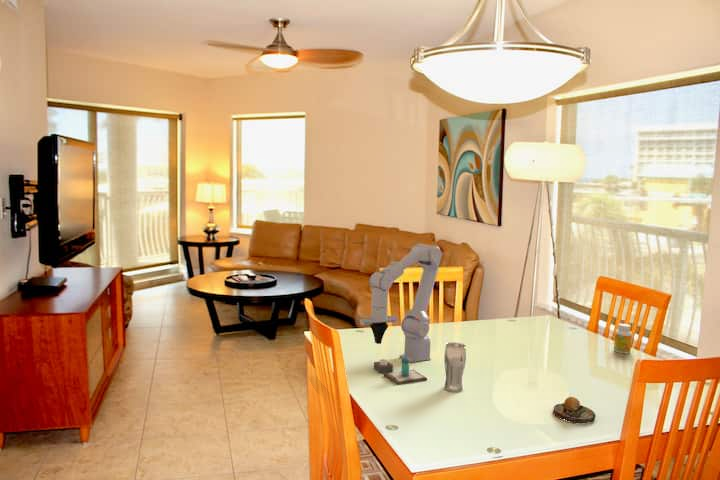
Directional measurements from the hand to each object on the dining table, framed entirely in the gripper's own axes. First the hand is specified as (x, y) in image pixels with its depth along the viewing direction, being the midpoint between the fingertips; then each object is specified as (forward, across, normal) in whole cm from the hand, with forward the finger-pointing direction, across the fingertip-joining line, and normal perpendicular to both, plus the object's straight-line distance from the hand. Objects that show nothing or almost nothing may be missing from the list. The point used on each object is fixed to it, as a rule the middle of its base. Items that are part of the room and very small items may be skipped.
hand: (378, 343), depth 210 cm
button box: (+9, -1, +3) cm, 10 cm away
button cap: (+9, -1, +3) cm, 9 cm away
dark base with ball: (+10, -36, +58) cm, 69 cm away
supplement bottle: (+10, -106, +19) cm, 108 cm away
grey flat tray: (+9, -4, +13) cm, 16 cm away
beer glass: (+10, -14, +27) cm, 32 cm away
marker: (+8, -4, +12) cm, 16 cm away
